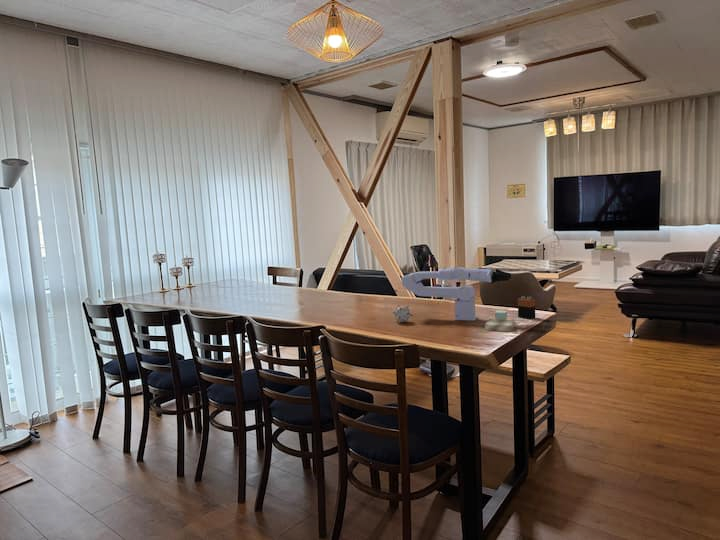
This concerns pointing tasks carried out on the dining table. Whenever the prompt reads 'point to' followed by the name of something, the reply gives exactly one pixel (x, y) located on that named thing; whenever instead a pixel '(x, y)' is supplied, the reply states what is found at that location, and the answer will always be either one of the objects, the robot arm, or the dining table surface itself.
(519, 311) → the battery
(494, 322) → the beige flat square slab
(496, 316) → the mint block
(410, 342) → the dining table surface
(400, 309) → the grey spiky ball
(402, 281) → the robot arm
